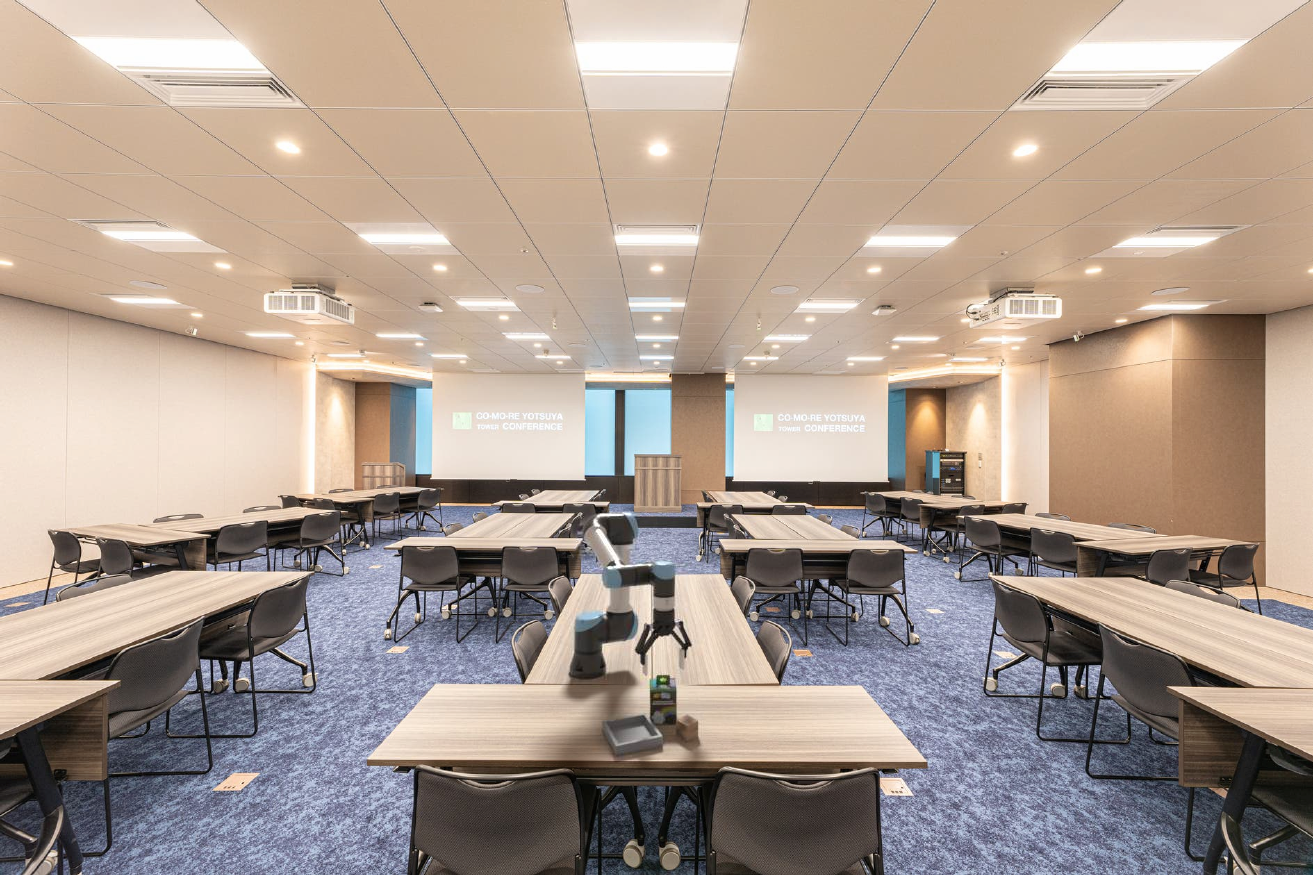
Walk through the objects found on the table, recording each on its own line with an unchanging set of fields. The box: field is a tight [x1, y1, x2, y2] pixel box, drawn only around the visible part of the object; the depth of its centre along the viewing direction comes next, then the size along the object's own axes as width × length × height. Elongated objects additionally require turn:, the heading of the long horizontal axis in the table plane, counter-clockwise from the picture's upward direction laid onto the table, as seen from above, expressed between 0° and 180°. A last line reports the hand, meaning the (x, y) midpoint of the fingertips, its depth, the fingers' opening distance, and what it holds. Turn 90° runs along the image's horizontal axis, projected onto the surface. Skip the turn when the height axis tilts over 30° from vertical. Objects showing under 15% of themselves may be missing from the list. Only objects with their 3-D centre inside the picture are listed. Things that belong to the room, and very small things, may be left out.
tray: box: [601, 712, 664, 757], centre depth 156 cm, size 15×15×3 cm
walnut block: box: [675, 714, 699, 743], centre depth 158 cm, size 5×5×5 cm
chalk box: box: [649, 674, 678, 725], centre depth 169 cm, size 9×9×15 cm
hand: (663, 670), depth 169 cm, fingers open, 13 cm apart
